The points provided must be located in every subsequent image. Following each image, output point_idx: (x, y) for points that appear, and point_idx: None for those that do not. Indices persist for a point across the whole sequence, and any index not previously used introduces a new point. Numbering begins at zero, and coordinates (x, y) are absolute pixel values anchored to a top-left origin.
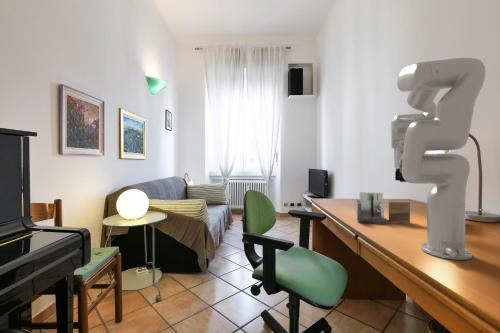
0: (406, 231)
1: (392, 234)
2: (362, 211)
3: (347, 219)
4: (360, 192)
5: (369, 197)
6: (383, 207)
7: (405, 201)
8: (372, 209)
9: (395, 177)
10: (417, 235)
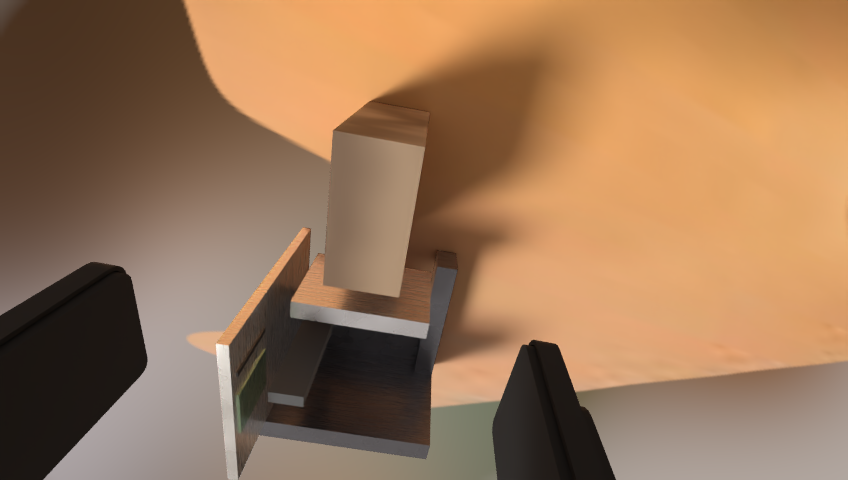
0: (602, 205)
1: (646, 287)
2: None
3: None
4: (237, 476)
5: (255, 393)
6: (429, 319)
7: (373, 167)
8: (331, 328)
9: (98, 412)
10: (682, 181)
